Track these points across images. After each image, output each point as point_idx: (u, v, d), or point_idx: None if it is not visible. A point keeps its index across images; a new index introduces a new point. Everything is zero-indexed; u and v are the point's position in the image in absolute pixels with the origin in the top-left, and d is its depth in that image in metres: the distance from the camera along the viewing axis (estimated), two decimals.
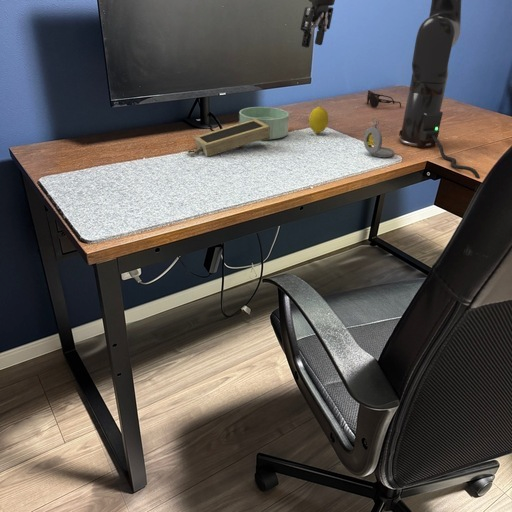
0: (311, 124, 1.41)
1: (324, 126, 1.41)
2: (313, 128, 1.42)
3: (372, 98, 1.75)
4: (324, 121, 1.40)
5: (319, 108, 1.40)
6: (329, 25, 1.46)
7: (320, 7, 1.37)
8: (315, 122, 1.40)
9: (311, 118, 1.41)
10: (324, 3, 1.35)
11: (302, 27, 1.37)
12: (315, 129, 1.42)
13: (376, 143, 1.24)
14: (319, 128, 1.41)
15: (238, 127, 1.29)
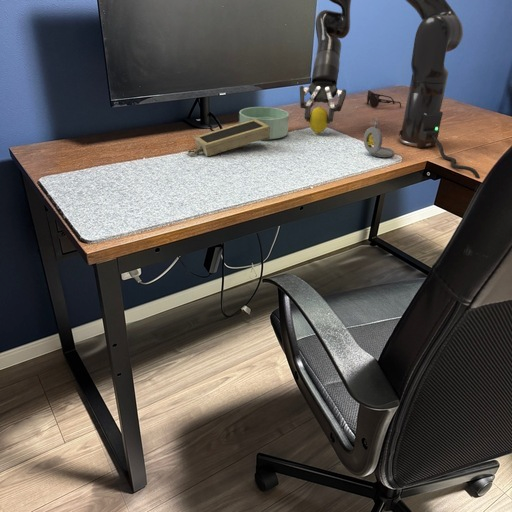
0: (311, 124, 1.41)
1: (324, 126, 1.41)
2: (313, 128, 1.42)
3: (372, 98, 1.75)
4: (323, 121, 1.40)
5: (319, 108, 1.40)
6: (340, 103, 1.40)
7: (316, 84, 1.43)
8: (315, 122, 1.40)
9: (311, 118, 1.41)
10: (314, 77, 1.42)
11: None
12: (315, 129, 1.42)
13: (376, 143, 1.24)
14: (319, 128, 1.41)
15: (238, 127, 1.29)
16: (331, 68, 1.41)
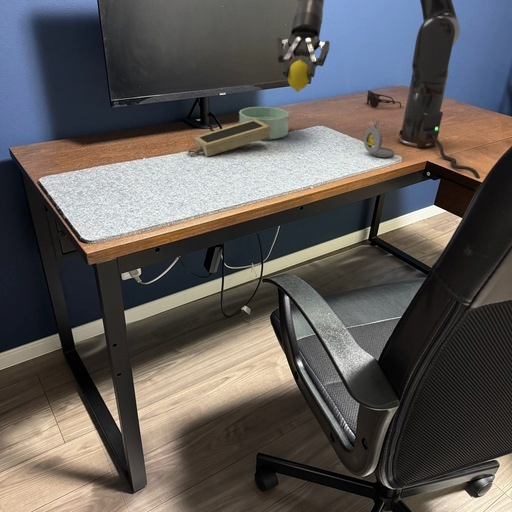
0: (290, 80, 1.25)
1: (304, 82, 1.25)
2: (292, 85, 1.26)
3: (372, 98, 1.75)
4: (304, 76, 1.24)
5: (299, 61, 1.24)
6: (322, 56, 1.24)
7: (296, 35, 1.27)
8: (294, 78, 1.24)
9: (290, 73, 1.25)
10: (294, 27, 1.26)
11: None
12: (294, 86, 1.26)
13: (376, 143, 1.24)
14: (299, 84, 1.25)
15: (238, 127, 1.29)
16: (313, 17, 1.25)
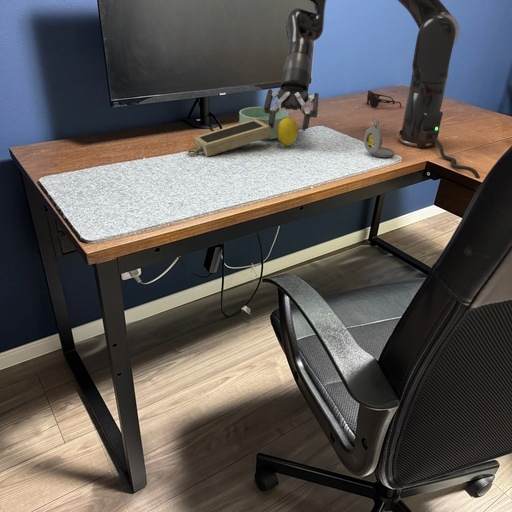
0: (279, 136, 1.30)
1: (293, 138, 1.30)
2: (281, 140, 1.30)
3: (372, 98, 1.75)
4: (292, 133, 1.28)
5: (287, 119, 1.28)
6: (315, 109, 1.28)
7: (286, 89, 1.31)
8: (283, 134, 1.29)
9: (279, 130, 1.29)
10: (283, 82, 1.30)
11: None
12: (283, 141, 1.30)
13: (376, 143, 1.24)
14: (287, 140, 1.30)
15: (238, 127, 1.29)
16: (301, 72, 1.29)
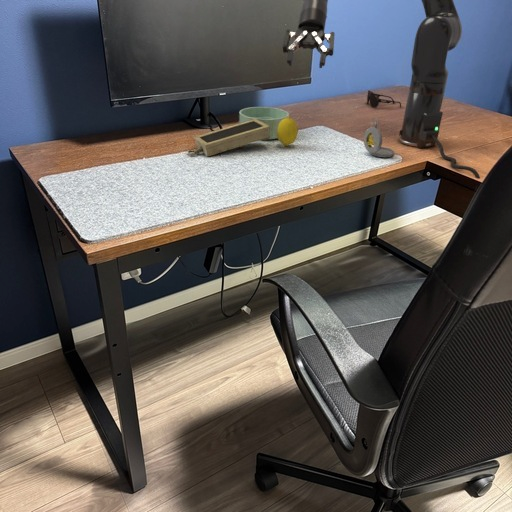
0: (279, 136, 1.30)
1: (293, 138, 1.30)
2: (281, 140, 1.30)
3: (372, 98, 1.75)
4: (292, 133, 1.28)
5: (287, 119, 1.28)
6: (331, 46, 1.35)
7: (303, 29, 1.37)
8: (283, 134, 1.29)
9: (279, 130, 1.29)
10: (301, 22, 1.36)
11: None
12: (283, 141, 1.30)
13: (376, 143, 1.24)
14: (287, 140, 1.30)
15: (238, 127, 1.29)
16: (318, 12, 1.36)
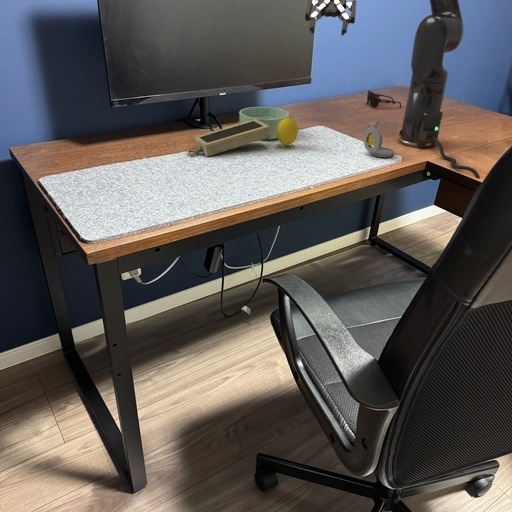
0: (279, 136, 1.30)
1: (293, 138, 1.30)
2: (281, 140, 1.30)
3: (372, 98, 1.75)
4: (292, 133, 1.28)
5: (287, 119, 1.28)
6: (353, 14, 1.37)
7: None
8: (283, 134, 1.29)
9: (279, 130, 1.29)
10: None
11: None
12: (283, 141, 1.30)
13: (376, 143, 1.24)
14: (287, 140, 1.30)
15: (238, 127, 1.29)
16: None
